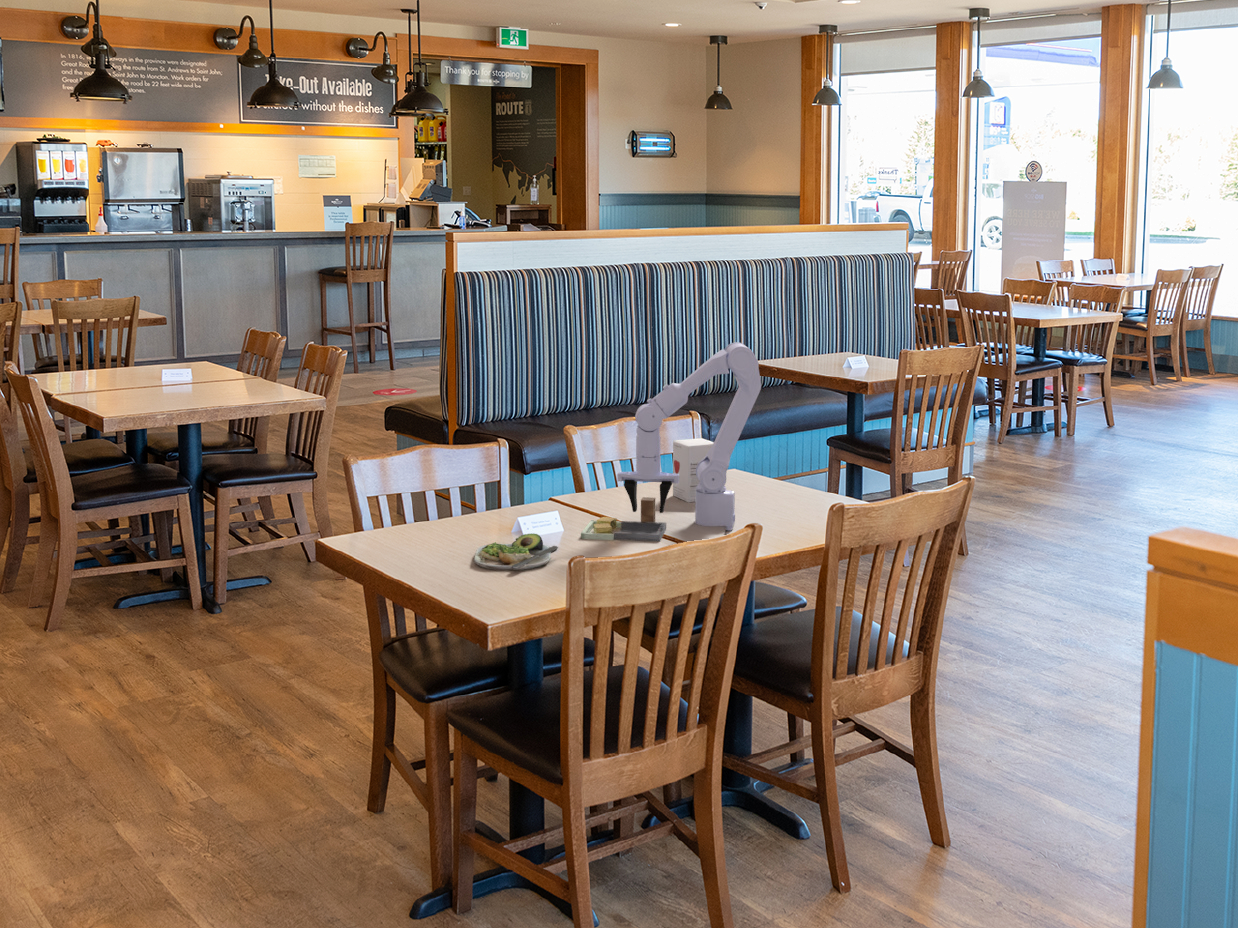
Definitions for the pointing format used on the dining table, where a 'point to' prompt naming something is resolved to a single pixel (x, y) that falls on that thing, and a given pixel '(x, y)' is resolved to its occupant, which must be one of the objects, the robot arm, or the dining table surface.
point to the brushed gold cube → (608, 521)
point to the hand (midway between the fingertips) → (648, 511)
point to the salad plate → (515, 553)
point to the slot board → (640, 531)
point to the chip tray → (600, 536)
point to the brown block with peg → (647, 509)
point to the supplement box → (688, 465)
